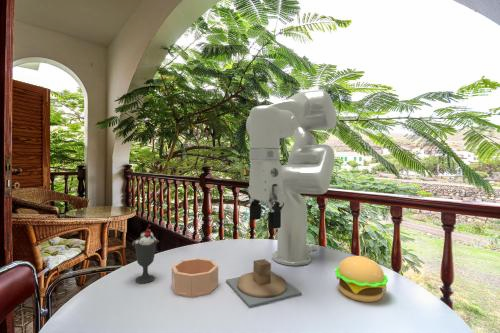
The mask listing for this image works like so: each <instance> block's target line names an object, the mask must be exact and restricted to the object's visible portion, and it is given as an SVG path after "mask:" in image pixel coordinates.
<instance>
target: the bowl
mask: <svg viewBox="0 0 500 333" xmlns="http://www.w3.org/2000/svg"><path fill="white" fill-rule="evenodd" d="M170 286H171V290H172V292H173V293H174V295H177V296H182V297H186V298H195V297H201V296H205V295H210V294H211V293H212V292H214V291H215V289H217V288H218V287H219V265H218V264H217V263H216V262H215V260H214V259H208V258H206V259H205V258H200V257H196V258H190V259H183V260H181V261H178V262H177V263H175V264H173V265H172V266H171V285H170Z"/></svg>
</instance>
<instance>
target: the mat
mask: <svg viewBox="0 0 500 333" xmlns="http://www.w3.org/2000/svg"><path fill="white" fill-rule="evenodd" d="M271 273H273V274H276V273H275V272H274V271H271ZM239 277H240V276H239ZM239 277H233V278H227V279H225V282H226V284H227V285H228V286H229V287H230V288H231V290H232V291H234V293H235V294H236V295H237V297H238V298H239V299H240V300H241V301H242V302H243V303H244V304H245V305H246V306H247V307H248V309H251V308H255V307H256V308H257V307H259V306H263V305H268V304H271V303H276V302H279V301H280V302H281V301H284V300H287V299H291V298H295V297H296V298H297V297H299V296H302V294H303V293H302V291H300V290H299V289H297V287H294V286H293V285H292V284H291V283H289V282H288V281H286V283H287V289H286V291H285V292H284V293H283V294H281V295H279V296H276V297H272V298H256V297H251V296H248V295H245V294H243V293H242V292H240V291H239V290H238V288H237V280H238V279H239Z"/></svg>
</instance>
